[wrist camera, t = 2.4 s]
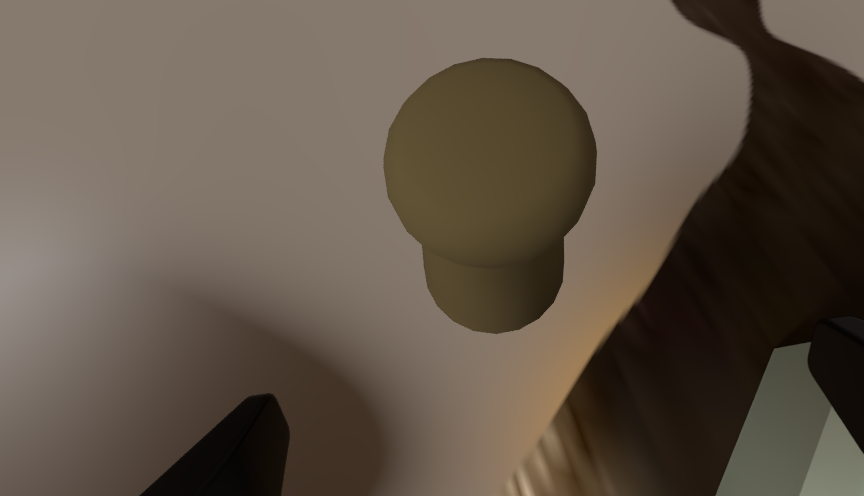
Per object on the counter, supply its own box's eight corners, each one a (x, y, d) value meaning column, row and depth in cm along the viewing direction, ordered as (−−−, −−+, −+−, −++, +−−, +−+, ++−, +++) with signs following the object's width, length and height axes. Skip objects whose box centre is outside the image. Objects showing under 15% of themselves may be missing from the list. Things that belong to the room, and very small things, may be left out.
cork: (473, 176, 22) (450, -21, 12) (591, 244, 20) (686, 82, 10) (397, 282, 21) (296, 169, 11) (514, 363, 19) (531, 322, 9)
